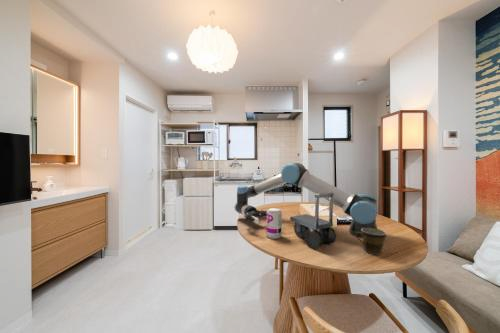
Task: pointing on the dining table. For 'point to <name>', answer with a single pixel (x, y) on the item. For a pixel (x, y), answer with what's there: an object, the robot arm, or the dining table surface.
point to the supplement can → (274, 223)
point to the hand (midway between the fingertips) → (268, 219)
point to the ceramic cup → (372, 240)
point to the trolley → (316, 225)
